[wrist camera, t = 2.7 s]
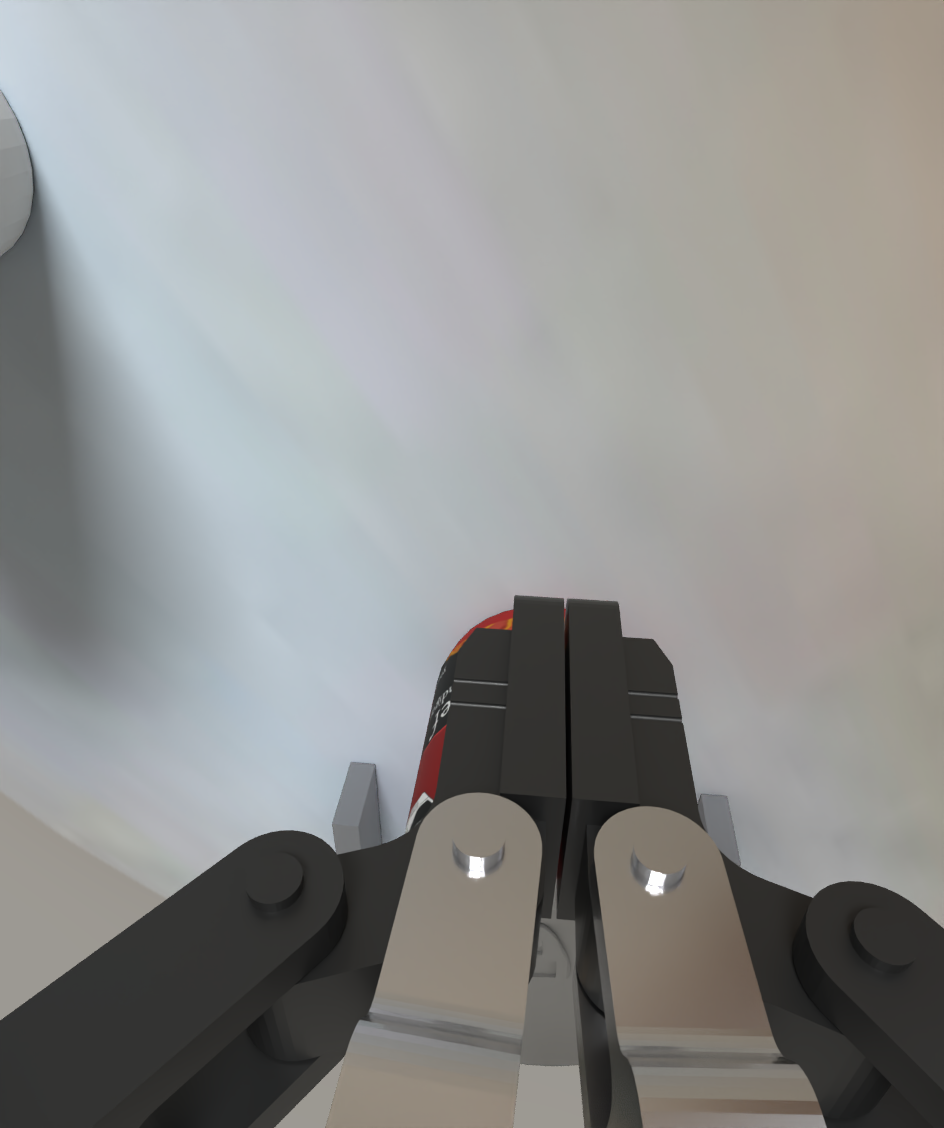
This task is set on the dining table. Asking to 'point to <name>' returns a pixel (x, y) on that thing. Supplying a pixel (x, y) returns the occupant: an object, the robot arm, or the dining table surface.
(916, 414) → the dining table surface
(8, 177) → the coffee cup
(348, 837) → the lane rails
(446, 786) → the robot arm
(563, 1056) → the canned food
